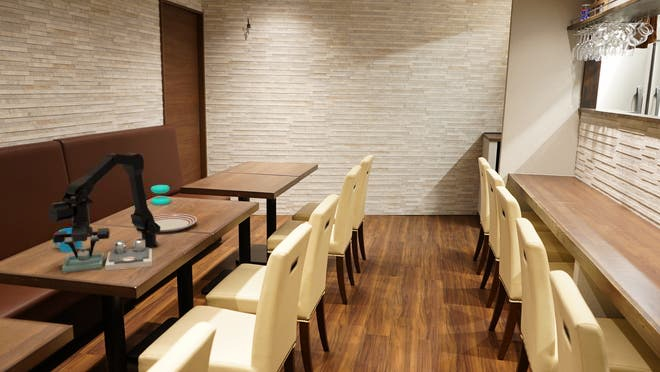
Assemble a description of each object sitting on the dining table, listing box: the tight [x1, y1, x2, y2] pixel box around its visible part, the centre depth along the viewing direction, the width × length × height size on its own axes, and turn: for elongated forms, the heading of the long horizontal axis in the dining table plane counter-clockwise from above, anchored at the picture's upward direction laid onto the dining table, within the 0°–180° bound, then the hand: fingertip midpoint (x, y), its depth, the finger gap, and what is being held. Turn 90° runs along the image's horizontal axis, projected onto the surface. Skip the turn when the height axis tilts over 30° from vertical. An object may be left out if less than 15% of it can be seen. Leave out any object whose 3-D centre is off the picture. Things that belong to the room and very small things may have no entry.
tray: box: [61, 252, 106, 273], centre depth 199 cm, size 13×13×2 cm
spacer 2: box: [113, 239, 127, 254], centre depth 206 cm, size 4×4×4 cm
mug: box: [53, 227, 83, 254], centre depth 218 cm, size 12×8×8 cm
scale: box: [104, 247, 153, 272], centre depth 203 cm, size 17×16×4 cm
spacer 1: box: [77, 246, 91, 261], centre depth 199 cm, size 4×4×4 cm
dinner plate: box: [153, 213, 198, 233], centre depth 253 cm, size 28×27×3 cm
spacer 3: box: [132, 238, 146, 252], centre depth 208 cm, size 4×4×4 cm
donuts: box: [150, 184, 171, 206], centre depth 301 cm, size 10×10×10 cm
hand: (84, 257), depth 199 cm, fingers closed on spacer 1, 4 cm apart
